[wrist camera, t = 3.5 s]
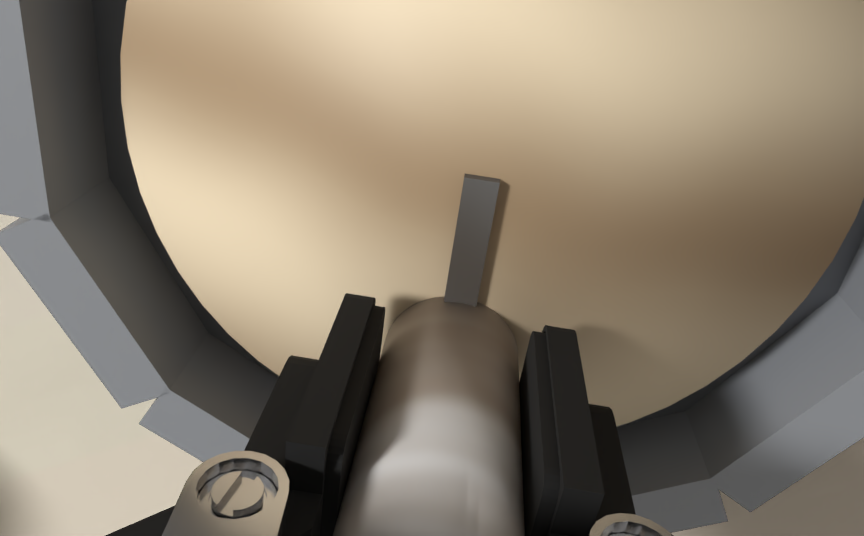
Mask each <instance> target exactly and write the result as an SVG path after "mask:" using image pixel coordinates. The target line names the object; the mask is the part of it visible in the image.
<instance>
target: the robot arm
mask: <svg viewBox="0 0 864 536" xmlns="http://www.w3.org/2000/svg"><path fill="white" fill-rule="evenodd" d="M375 303H376V299H375V298H374V297H368V296H361V295H355V294H349V293H346V294H345V296H344V298H343V301H342V303H341V306H340V308H339V311H338V313H337V316H336V318H335V321H334V323H333V326H332V328H331V331H330V333H329V336H328V338H327V340H326V343H325V345H324V348H323V350H322V353H321V355H320V358H319V360H317V359H311V358H305V357H299V356H293V355H291V356H290V357H289V358H288V359H287V361H286V363H285V365H284V367H283V369H282V372H281V374H280V376H279V378H278V380H277V382H276V384H275V386H274V388H273V391H272V393H271V395H270V397H269V399H268V401H267V403H266V405H265V407H264V410H263V412H262V414H261V416H260V418H259V420H258V422H257V424H256V427H255V429H254V431H253V433H252V435H251V437H250V439H249V441H248V443H247V446H246V448H245V450H244V451H232V452H227V453H223V454H219V455H217V456H215V457H212V458H210V459H208V460H206V461H204V462H203V463H202V464H201V465H199V466H198V467H197V468H196V469H194V471H193V472H192V474H191V475H190V476H189V478H188V479H187V481H186V483H185V485H184V487H183V490H182V492H181V494H180V496H179V499H178V501H177V503H176V505H175V506H173V507H171V508H168V509H166V510H164V511H161V512H159V513H157V514H154V515H152V516H150V517H147V518H145V519H143V520H141V521H138V522H136V523H134V524H131V525H129V526H127V527H124V528H122V529H120V530H117V531H115V532H113V533H110V534H108V535H106V536H333V532H334V529H335V525H336V522H337V518H338V514H339V510H340V507H341V503H342V499H343V496H344V492H345V488H346V484H347V481H348V477H349V473H350V469H351V466H352V462H353V458H354V454H355V451H356V447H357V443H358V440H359V436H360V432H361V428H362V425H363V421H364V417H365V413H366V410H367V406H368V402H369V398H370V395H371V391H372V387H373V384H374V380H375V376H376V372H377V369H378V365H379V361H380V353H381V344H382V336H383V328H384V319H385V307H381V306H375ZM519 392H520V419H521V446H522V472H523V499H524V526H525V536H673V535H672V534H671V533H670V532H669V531H667V530H666V529H665V528H664V527H662V526H660V525H658V524H657V523H655V522H653V521H652V520H650V519H647V518H644V517H641V516H638V515H636V513H635V509H634V504H633V499H632V495H631V490H630V486H629V481H628V477H627V472H626V468H625V463H624V459H623V454H622V450H621V445H620V441H619V436H618V431H617V427H616V422H615V418H614V414H613V411H612V409H611V408H610V407H606V406H600V405H594V404H589V402H588V397H587V391H586V385H585V380H584V374H583V368H582V362H581V357H580V351H579V345H578V340H577V334H576V331H575V330H572V329H566V328H560V327H554V326H548V325H545V326H544V328H543V330H542V332H536V331H532V333H531V336H530V340H529V344H528V348H527V352H526V356H525V361H524V365H523V369H522V373H521V377H520V381H519Z"/></svg>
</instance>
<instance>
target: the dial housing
mask: <svg viewBox="0 0 864 536" xmlns="http://www.w3.org/2000/svg"><path fill="white" fill-rule="evenodd" d="M126 3H127V0H0V214H3V215H9V216H16V217H21V218H19V219H17V220H16V221H14V222H13V223H11V224H10V225H8V226H7V227H5V228H4V229H2V230H0V246H1V247H2V248H3V250H4V251H5V252H6V254H7V255H8V256H9V258H10V259H11V260H12V262H13V263H14V264H15V266H16V267H17V268H18V270H19V271H20V272H21V274H22V275H23V277H24V278H25V279H26V281H27V282H28V283H29V285H30V286H31V287H32V289H33V290H34V291H35V293H36V294H37V295H38V297H39V298H40V299H41V301H42V302H43V303H44V305H45V306H46V308H47V309H48V310H49V312H50V313H51V314H52V316H53V317H54V318H55V320H56V321H57V322H58V324H59V325H60V326H61V328H62V329H63V330H64V332H65V333H66V334H67V336H68V337H69V338H70V340H71V341H72V343H73V344H74V345H75V347H76V348H77V349H78V351H79V352H80V353H81V355H82V356H83V357H84V359H85V360H86V361H87V363H88V364H89V365H90V367H91V368H92V369H93V371H94V372H95V374H96V375H97V376H98V378H99V379H100V380H101V382H102V383H103V384H104V386H105V387H106V388H107V390H108V391H109V392H110V394H111V395H112V396H113V398H114V399H115V400H116V402H117V403H118V404H119V406H120V407H121V409H122V408H125V407H128V406H131V405H135V404H138V403H141V402H144V401H148V400H151V399H154V398H157V399H156V400H155V401H154V403H153V404H152V406H151V407H150V409H149V410H148V411H147V413H146V414H145V416H144V417H143V418H142V420H141V421H140V423H139V424H140V425H142V426H143V427H145V428H147V429H148V430H150V431H152V432H153V433H155V434H157V435H158V436H160V437H162V438H164V439H165V440H167V441H169V442H170V443H172V444H174V445H175V446H177V447H179V448H180V449H182V450H184V451H185V452H187V453H189V454H191V455H192V456H194V457H196V458H197V459H199V460H201V461H202V462H204V461H206V460H208V459H210V458H212V457H215V456H217V455H219V454H223V453H227V452H232V451H244V450H245V448H246V446H247V443H248V441H249V439H250V437H251V435H252V433H253V431H254V429H255V427H256V424H257V422H258V420H259V418H260V416H261V414H262V412H263V410H264V407H265V405H266V403H267V401H268V399H269V397H270V395H271V393H272V391H273V388H274V386H275V384H276V382H277V380H278V378H279V376H278V375H277V374H276V373H274V372H273V371H271V370H270V369H269V368H267V367H266V366H265V365H263V364H262V363H260V362H259V361H258V360H257V359H256V358H255V357H253V356H252V355H251V354H250V353H249V352H248V351H247V350H246V349H244V348H243V347H242V346H241V345H240V344H239V343H238V342H237V341H236V340H234V339H233V338H232V337H231V336H230V335H229V334H228V333H227V332H226V331H225V330H224V329H223V327H222V326H221V325H220V324H219V323H218V322H217V321H216V320H215V319H214V317H213V316H212V315H211V314H210V313H209V312H208V311H207V310H206V308H205V307H204V306H203V305H202V304H201V303H200V301H199V300H198V298H197V297H196V296H195V294H194V293H193V291H192V290H191V289H190V287H189V286H188V284H187V283H186V282H185V280H184V279H183V277H182V276H181V275H180V273H179V272H178V270H177V269H176V267H175V265H174V263H173V261H172V260H171V258H170V256H169V254H168V252H167V251H166V249H165V247H164V245H163V243H162V242H161V240H160V238H159V236H158V234H157V232H156V230H155V228H154V225H153V223H152V220H151V218H150V215H149V213H148V210H147V208H146V206H145V203H144V201H143V198H142V196H141V193H140V190H139V187H138V183H137V179H136V176H135V172H134V168H133V165H132V161H131V158H130V154H129V150H128V145H127V138H126V131H125V124H124V117H123V111H122V104H121V56H120V53H121V45H122V36H123V27H124V19H125V10H126ZM616 427H617V431H618V436H619V441H620V445H621V450H622V454H623V459H624V463H625V468H626V472H627V477H628V481H629V486H630V490H631V495H632V499H633V504H634V509H635V513H636V515H638V516H641V517H644V518H647V519H650V520H652V521H653V522H655V523H657V524H658V525H660V526H662V527H664V528H665V529H666V530H667V531H669V532H670V533H672V532H677V531H682V530H687V529H692V528H697V527H702V526H707V525H712V524H717V523H722V522H727V521H728V519H727V515H726V512H725V509H724V506H723V502H722V499H721V496H720V492H719V490H720V491H722V492H723V493H724V494H726V495H727V496H729V497H730V498H731V499H733V500H734V501H736V502H737V503H738V504H740V505H741V506H742V507H744V508H745V509H747V510H748V511H749V512H752V511H753V510H755V509H756V508H758V507H759V506H761V505H762V504H764V503H765V502H767V501H768V500H770V499H771V498H773V497H774V496H776V495H777V494H779V493H780V492H782V491H783V490H785V489H786V488H788V487H789V486H791V485H792V484H794V483H795V482H797V481H798V480H800V479H801V478H803V477H804V476H806V475H807V474H809V473H810V472H812V471H813V470H815V469H817V468H818V467H820V466H821V465H823V464H824V463H826V462H827V461H829V460H830V459H832V458H833V457H835V456H836V455H838V454H839V453H841V452H842V451H844V450H845V449H847V448H848V447H850V446H851V445H853V444H854V443H856V442H857V441H859V440H860V439H862V438H863V437H864V198H863V201H862V203H861V206H860V208H859V211H858V214H857V216H856V218H855V220H854V222H853V224H852V226H851V228H850V230H849V231H848V233H847V235H846V237H845V239H844V241H843V242H842V244H841V246H840V248H839V250H838V252H837V253H836V255H835V257H834V259H833V261H832V262H831V263H830V265H829V266H828V268H827V269H826V270H825V272H824V273H823V275H822V276H821V277H820V279H819V280H818V282H817V283H816V284H815V286H814V287H813V289H812V290H811V291H810V293H809V294H808V296H807V297H806V298H805V300H804V301H803V302H802V303H801V304H800V305H799V306H798V307H797V308H796V309H795V311H794V312H793V313H792V314H791V315H790V316H789V317H788V318H787V319H786V320H785V322H784V323H783V324H782V325H781V326H780V327H779V328H778V329H777V330H776V331H775V332H774V333H773V334H772V335H771V336H770V337H769V338H768V339H766V340H765V341H764V342H763V343H762V344H761V345H760V346H758V347H757V348H756V349H755V350H754V351H753V352H752V353H750V354H749V355H748V356H747V357H746V358H745V359H744V360H742V361H741V362H740V363H738V364H737V365H735V366H734V367H733V368H731V369H730V370H728V371H727V372H725V373H724V374H723V375H721V376H720V377H718V378H717V379H715V380H714V381H712V382H711V383H710V384H708V385H707V386H705V387H703V388H701V389H700V390H698V391H696V392H694V393H692V394H690V395H689V396H687V397H685V398H683V399H681V400H679V401H678V402H676V403H674V404H672V405H670V406H668V407H666V408H664V409H661V410H659V411H656V412H654V413H652V414H649V415H647V416H644V417H642V418H640V419H637V420H635V421H632V422H630V423H626V424H623V425H620V426H616Z"/></svg>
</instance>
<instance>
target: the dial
mask: <svg viewBox="0 0 864 536" xmlns="http://www.w3.org/2000/svg"><path fill="white" fill-rule="evenodd" d="M120 56H121V104H122V111H123V117H124V124H125V131H126V138H127V145H128V150H129V154H130V158H131V161H132V165H133V168H134V172H135V176H136V179H137V183H138V187H139V190H140V193H141V196H142V198H143V201H144V203H145V206H146V208H147V210H148V213H149V215H150V218H151V220H152V223H153V225H154V228H155V230H156V232H157V234H158V236H159V238H160V240H161V242H162V243H163V245H164V247H165V249H166V251H167V252H168V254H169V256H170V258H171V260H172V261H173V263H174V265H175V267H176V269H177V270H178V272H179V273H180V275H181V276H182V277H183V279H184V280H185V282H186V283H187V284H188V286H189V287H190V289H191V290H192V291H193V293H194V294H195V296H196V297H197V298H198V300H199V301H200V303H201V304H202V305H203V306H204V307H205V308H206V310H207V311H208V312H209V313H210V314H211V315H212V316H213V317H214V319H215V320H216V321H217V322H218V323H219V324H220V325H221V326H222V327H223V329H224V330H225V331H226V332H227V333H228V334H229V335H230V336H231V337H232V338H233V339H234V340H236V341H237V342H238V343H239V344H240V345H241V346H242V347H243V348H244V349H246V350H247V351H248V352H249V353H250V354H251V355H252V356H253V357H255V358H256V359H257V360H258V361H259V362H260V363H262V364H263V365H265V366H266V367H267V368H269V369H270V370H271V371H273V372H274V373H276V374H277V375H278V376H280V374H281V372H282V369H283V367H284V365H285V363H286V361H287V359H288V358H289V357H290V356H291V355H293V356H299V357H305V358H311V359H317V360H319V358H320V355H321V353H322V350H323V348H324V345H325V343H326V340H327V338H328V336H329V333H330V331H331V328H332V326H333V323H334V321H335V318H336V316H337V313H338V311H339V308H340V306H341V303H342V301H343V298H344V296H345V294H346V293H349V294H355V295H361V296H368V297H374V298H375V299H376V303H375V306H381V307H385V319H384V328H383V336H382V344H381V353H380V361H379V365H378V369H377V372H376V376H375V380H374V384H373V387H372V391H371V395H370V398H369V402H368V406H367V410H366V413H365V417H364V421H363V425H362V428H361V432H360V436H359V440H358V443H357V447H356V451H355V454H354V458H353V462H352V466H351V469H350V473H349V477H348V481H347V484H346V488H345V492H344V496H343V499H342V503H341V507H340V510H339V514H338V518H337V522H336V525H335V529H334V532H333V536H525V526H524V499H523V472H522V446H521V419H520V392H519V381H520V377H521V373H522V369H523V365H524V361H525V356H526V352H527V348H528V344H529V340H530V336H531V333H532V331H536V332H542V330H543V328H544V326H545V325H548V326H554V327H560V328H566V329H572V330H575V331H576V334H577V340H578V345H579V351H580V357H581V362H582V368H583V374H584V380H585V385H586V391H587V397H588V402H589V404H594V405H600V406H606V407H610V408H611V409H612V411H613V414H614V418H615V422H616V426H620V425H623V424H626V423H630V422H632V421H635V420H637V419H640V418H642V417H644V416H647V415H649V414H652V413H654V412H656V411H659V410H661V409H664V408H666V407H668V406H670V405H672V404H674V403H676V402H678V401H679V400H681V399H683V398H685V397H687V396H689V395H690V394H692V393H694V392H696V391H698V390H700V389H701V388H703V387H705V386H707V385H708V384H710V383H711V382H712V381H714V380H715V379H717V378H718V377H720V376H721V375H723V374H724V373H725V372H727V371H728V370H730V369H731V368H733V367H734V366H735V365H737V364H738V363H740V362H741V361H742V360H744V359H745V358H746V357H747V356H748V355H749V354H750V353H752V352H753V351H754V350H755V349H756V348H757V347H758V346H760V345H761V344H762V343H763V342H764V341H765V340H766V339H768V338H769V337H770V336H771V335H772V334H773V333H774V332H775V331H776V330H777V329H778V328H779V327H780V326H781V325H782V324H783V323H784V322H785V320H786V319H787V318H788V317H789V316H790V315H791V314H792V313H793V312H794V311H795V309H796V308H797V307H798V306H799V305H800V304H801V303H802V302H803V301H804V300H805V298H806V297H807V296H808V294H809V293H810V291H811V290H812V289H813V287H814V286H815V284H816V283H817V282H818V280H819V279H820V277H821V276H822V275H823V273H824V272H825V270H826V269H827V268H828V266H829V265H830V263H831V262H832V261H833V259H834V257H835V255H836V253H837V252H838V250H839V248H840V246H841V244H842V242H843V241H844V239H845V237H846V235H847V233H848V231H849V230H850V228H851V226H852V224H853V222H854V220H855V218H856V216H857V214H858V211H859V208H860V206H861V203H862V201H863V198H864V0H127V3H126V10H125V19H124V27H123V36H122V45H121V53H120Z"/></svg>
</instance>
